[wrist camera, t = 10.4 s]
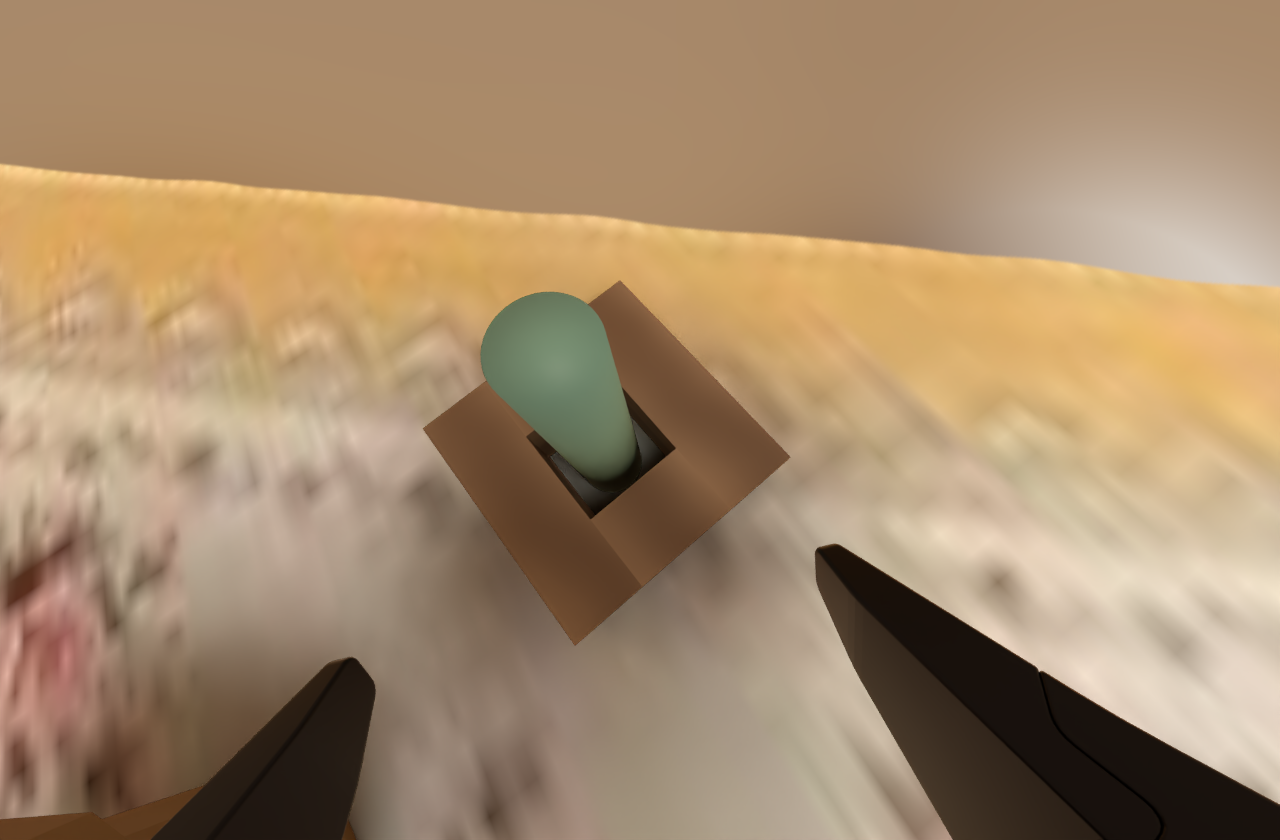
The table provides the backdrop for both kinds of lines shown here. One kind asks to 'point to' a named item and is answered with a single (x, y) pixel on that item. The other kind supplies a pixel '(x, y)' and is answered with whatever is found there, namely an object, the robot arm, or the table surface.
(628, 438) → the peg
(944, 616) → the robot arm
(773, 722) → the table surface
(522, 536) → the hole block
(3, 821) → the flowerpot
